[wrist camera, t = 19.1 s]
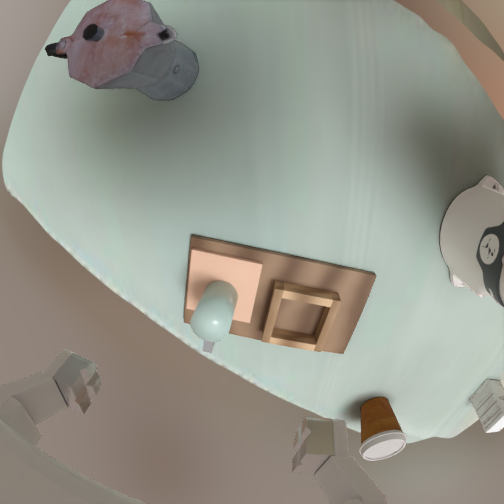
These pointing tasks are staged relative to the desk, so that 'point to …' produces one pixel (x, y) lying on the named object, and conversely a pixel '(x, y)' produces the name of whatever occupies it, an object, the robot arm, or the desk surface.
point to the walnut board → (297, 298)
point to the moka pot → (128, 51)
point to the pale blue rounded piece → (214, 313)
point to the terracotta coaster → (224, 279)
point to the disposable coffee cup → (380, 430)
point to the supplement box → (490, 405)
